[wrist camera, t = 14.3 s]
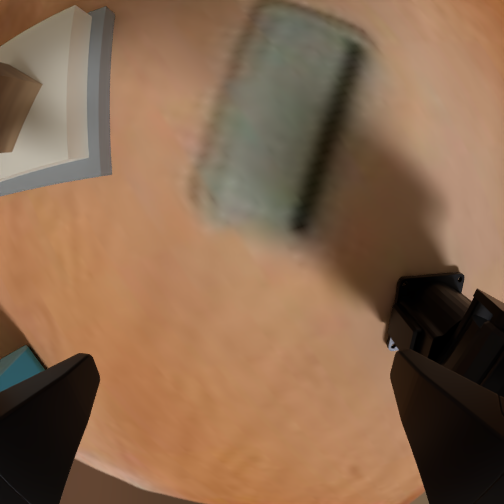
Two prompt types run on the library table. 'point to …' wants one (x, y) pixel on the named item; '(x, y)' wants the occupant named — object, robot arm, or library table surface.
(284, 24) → the library table surface
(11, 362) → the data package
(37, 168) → the tower top slab
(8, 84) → the walnut block
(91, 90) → the tower base slab
